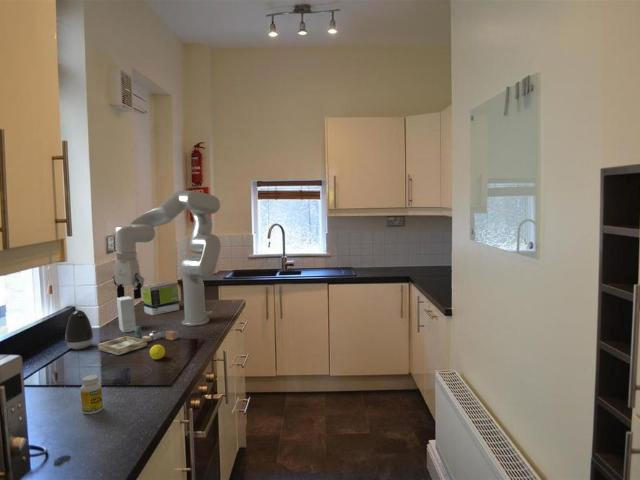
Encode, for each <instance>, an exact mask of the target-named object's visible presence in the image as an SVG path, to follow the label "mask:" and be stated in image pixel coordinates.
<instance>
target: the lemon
mask: <svg viewBox="0 0 640 480" xmlns="http://www.w3.org/2000/svg"><path fill="white" fill-rule="evenodd" d="M165 355H166V350H165V347H164V346H163V345H161V344H154V345H153V346H151V348H150V349H149V356H150V358H152V359H153V360H160V359H162V358H163V357H164V356H165Z"/></svg>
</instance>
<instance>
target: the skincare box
mask: <svg viewBox="0 0 640 480" xmlns="http://www.w3.org/2000/svg"><path fill="white" fill-rule="evenodd" d="M134 303H135V302H134V297H131V296H129V295H127V296H123V297H119V298H118V297H117V298H116V307H117V316H118V325H119V326H118V327H119V330H120V331H121V332H122V333H130V332H135V327H136V326H137V324H136V314H135V304H134Z"/></svg>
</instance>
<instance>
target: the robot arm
mask: <svg viewBox="0 0 640 480" xmlns="http://www.w3.org/2000/svg"><path fill="white" fill-rule="evenodd" d="M220 209H221V201H220V200H219V198H218V197H217V196H216V195H213V194H209V193H205V192H201V191H196V190H180V191H176V192H175V193H173V194H172V195H171V196H170V197H168V198H167V199H166V200H165V201H163V202H161V204H159V205H158V206H157V207H155V208H153V209H150V210H149V211H146V212H144V213H143V214H141V215H138V216H137V217H136V218H134V219H133V220H132V221H130V222H129V223H128V224H127V225H123V226H117V227H115V229H114V231H115V247H116V248H115V249H116V260H115V265H114V275H113V276H112V280H113V284H114V285H115V288H116V296H117V298H121V297H126V295H125V287H124V286H126V285H127V286H131V285H132V287H133V300H138V299H141V298H142V289H143V287H142V286H143V285H144V282H145V278H144V277H143V276H142V275H141V274H140V273H141V271H140V267H139V265H140V264H139V262H138V261H139V260H138V258H137V243H151V242H152V240H154V239H155V237H156V230H155V228H156V227H160V226H164V225H167V224H170V223H171V222H172V221H173V220H175V219H176V218H177V217H178V216H179V215H181V214H182V213H183V212H184V211H186V210H189V211H190V213H191V215H192V218H193V227H192V231H191V235H190V238H189V241H188V242H189V243H188V249H189V251H190V252H191V253H192V254H197V255H187V256H185V257H183V258H182V259H181V261H180V263H179V272H180V274H181V279H182V289H183V306H184V307H183V309H184V312H183V313H184V319H182V320H181V325H184V326H188V327H189V326H190V327H191V326H194V327H195V326H202V325H206V324H208V323H210V319H209V316H212V315H213V314H214V313H213V310H210V311H206V299H205V284H204V281H203V278H210V277H211V276H212V275H213V274H214V273H215V271H216V269H217V268H216V267H217V264H218V260H219V256H220V252H221V247H222V245H221V240H220V238H219V236H217V235H216V234H213V233H212V228H213V221H212V218H211V216H210V215H213V214H217V212H218V211H219V210H220ZM200 255H201V256H200Z"/></svg>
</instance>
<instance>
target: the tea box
mask: <svg viewBox="0 0 640 480" xmlns="http://www.w3.org/2000/svg"><path fill="white" fill-rule="evenodd" d="M142 294H143V295H142V296H143V297H142V298H143V310H144V313H145V314H147V315H151V316H156V315H161V314H165V313H169V312H170V313H171V312H175V311H179V310H180V303H179V290H178V283H177V282H173V281H168V280H167V281H162V282H161V281H160V282H155V283H149V284H143V286H142Z"/></svg>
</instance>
